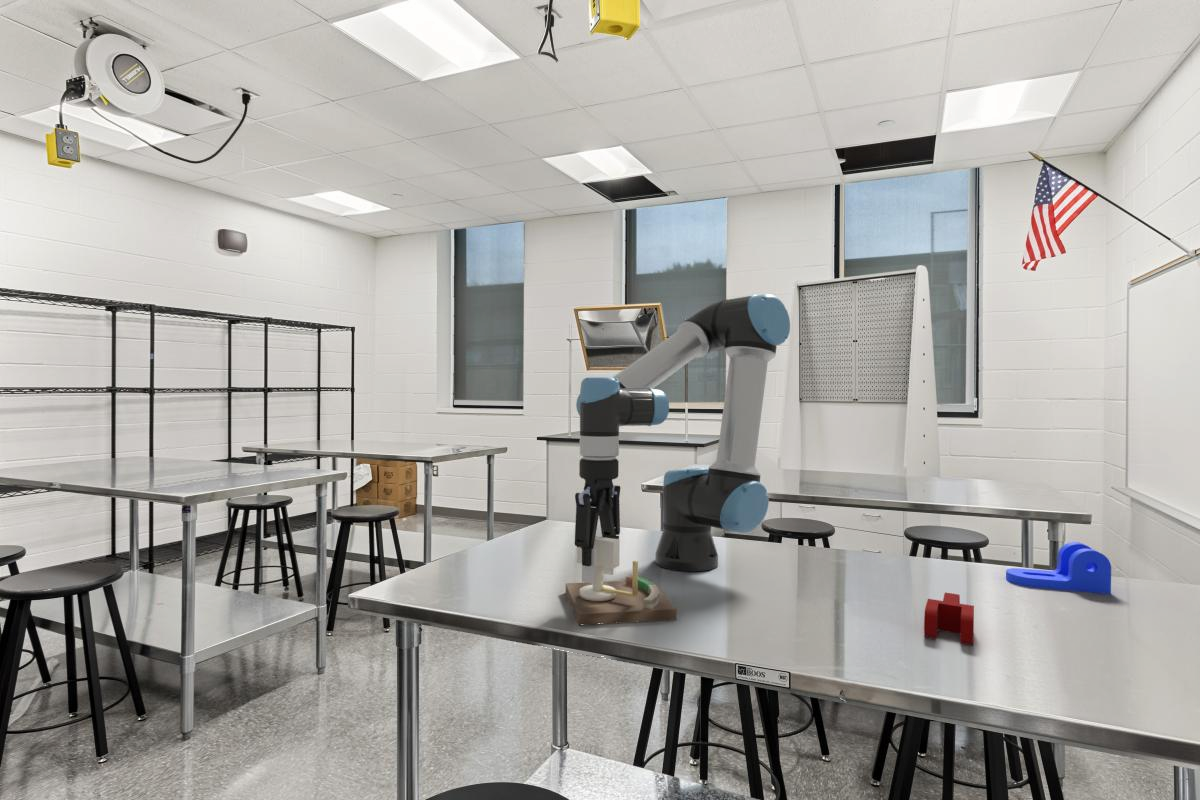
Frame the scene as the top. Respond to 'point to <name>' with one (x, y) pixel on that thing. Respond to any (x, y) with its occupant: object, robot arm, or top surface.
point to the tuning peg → (604, 558)
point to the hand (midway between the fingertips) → (597, 577)
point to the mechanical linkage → (949, 618)
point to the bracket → (1069, 571)
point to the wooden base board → (622, 604)
